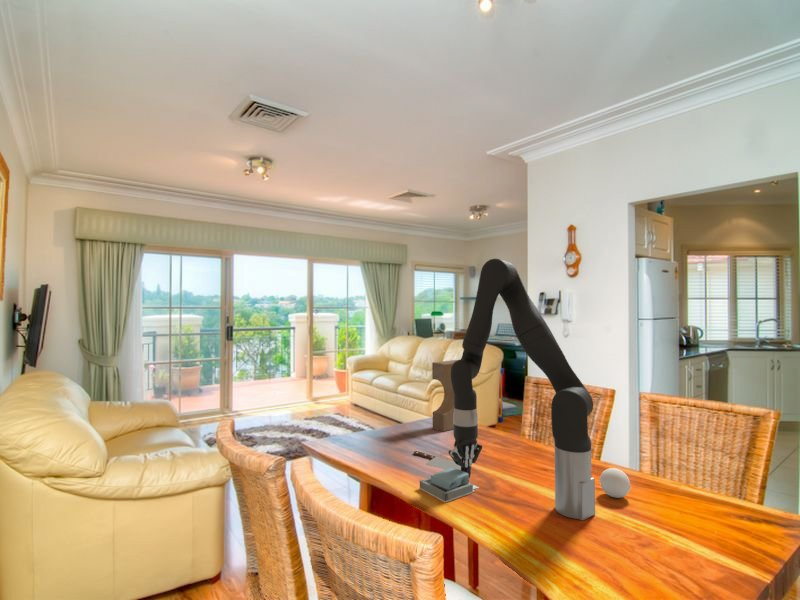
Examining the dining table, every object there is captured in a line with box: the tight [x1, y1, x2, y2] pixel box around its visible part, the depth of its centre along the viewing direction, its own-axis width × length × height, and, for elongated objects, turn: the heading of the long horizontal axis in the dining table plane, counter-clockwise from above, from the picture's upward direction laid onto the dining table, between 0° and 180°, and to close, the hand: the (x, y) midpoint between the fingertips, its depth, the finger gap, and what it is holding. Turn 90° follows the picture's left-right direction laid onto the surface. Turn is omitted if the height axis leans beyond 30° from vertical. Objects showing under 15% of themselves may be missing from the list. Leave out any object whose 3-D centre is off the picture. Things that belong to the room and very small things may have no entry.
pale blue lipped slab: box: [430, 468, 470, 492], centre depth 129 cm, size 7×10×4 cm
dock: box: [419, 476, 480, 503], centre depth 130 cm, size 12×15×2 cm
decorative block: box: [431, 359, 458, 433], centre depth 197 cm, size 15×8×30 cm, turn 128°
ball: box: [599, 467, 631, 499], centre depth 125 cm, size 8×8×8 cm
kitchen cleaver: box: [413, 450, 461, 470], centre depth 152 cm, size 24×1×10 cm
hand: (465, 477), depth 134 cm, fingers closed
